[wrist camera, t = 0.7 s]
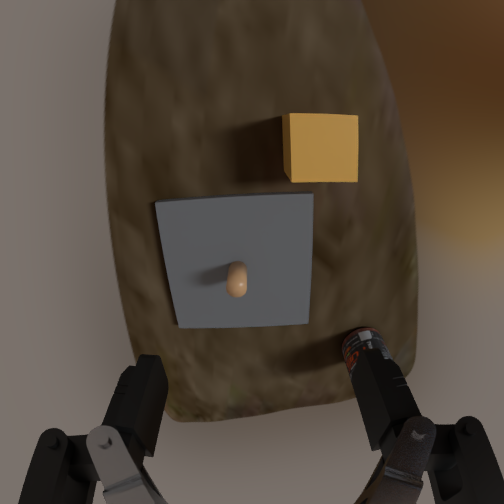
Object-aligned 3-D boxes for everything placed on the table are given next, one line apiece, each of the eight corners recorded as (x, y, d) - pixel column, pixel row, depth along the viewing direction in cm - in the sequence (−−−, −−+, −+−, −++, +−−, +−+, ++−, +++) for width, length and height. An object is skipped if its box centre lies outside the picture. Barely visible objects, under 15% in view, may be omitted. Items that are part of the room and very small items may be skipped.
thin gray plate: (157, 200, 30) (141, 214, 25) (311, 191, 30) (322, 204, 25) (180, 323, 37) (172, 349, 32) (306, 318, 36) (313, 345, 32)
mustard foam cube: (281, 115, 26) (289, 113, 21) (337, 116, 26) (357, 115, 21) (283, 170, 29) (291, 182, 23) (337, 170, 29) (357, 181, 23)
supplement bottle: (351, 322, 37) (377, 386, 26) (386, 327, 37) (417, 386, 27) (333, 354, 39) (351, 418, 29) (368, 358, 40) (391, 417, 29)
